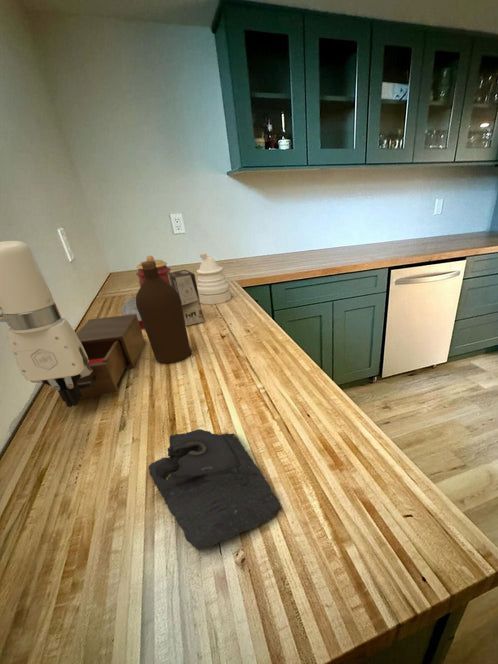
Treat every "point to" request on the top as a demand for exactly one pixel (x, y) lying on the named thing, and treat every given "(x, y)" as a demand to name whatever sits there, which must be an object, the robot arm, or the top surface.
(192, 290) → the coffee box
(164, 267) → the kitchen canister
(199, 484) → the folded black cloth
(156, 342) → the olive oil
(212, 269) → the honey pot
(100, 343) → the drawer
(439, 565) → the top surface
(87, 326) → the cabinet
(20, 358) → the robot arm
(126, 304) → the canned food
